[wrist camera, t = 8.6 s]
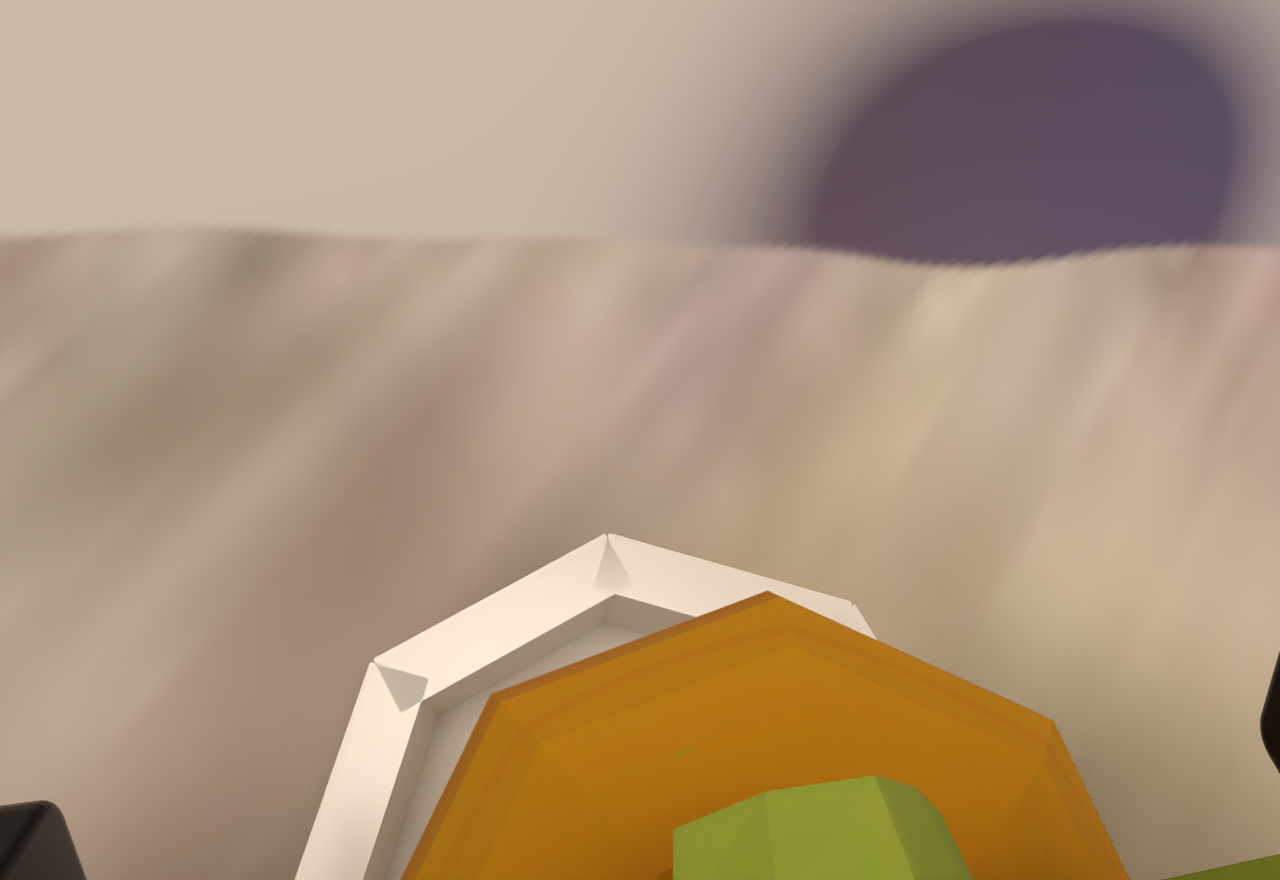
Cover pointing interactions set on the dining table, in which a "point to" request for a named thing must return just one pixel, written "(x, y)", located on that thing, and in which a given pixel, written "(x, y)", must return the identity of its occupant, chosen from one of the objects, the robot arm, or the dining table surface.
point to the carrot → (766, 768)
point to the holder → (500, 684)
